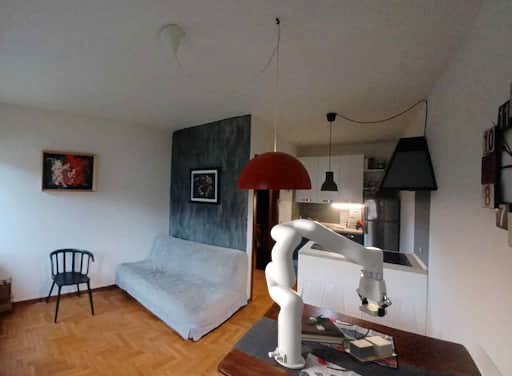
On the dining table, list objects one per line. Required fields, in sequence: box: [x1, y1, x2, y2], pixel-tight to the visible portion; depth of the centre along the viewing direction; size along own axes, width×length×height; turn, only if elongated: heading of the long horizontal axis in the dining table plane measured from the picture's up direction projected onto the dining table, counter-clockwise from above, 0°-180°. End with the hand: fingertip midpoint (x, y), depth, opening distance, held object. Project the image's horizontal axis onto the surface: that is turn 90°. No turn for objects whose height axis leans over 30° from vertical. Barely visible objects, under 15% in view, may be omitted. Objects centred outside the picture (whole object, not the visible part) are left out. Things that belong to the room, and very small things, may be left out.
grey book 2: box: [349, 346, 374, 358], centre depth 120 cm, size 8×5×2 cm, turn 104°
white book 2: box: [364, 335, 393, 351], centre depth 122 cm, size 8×7×2 cm
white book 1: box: [358, 303, 388, 318], centre depth 122 cm, size 8×7×2 cm
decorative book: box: [301, 314, 345, 346], centre depth 137 cm, size 19×8×30 cm
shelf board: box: [344, 348, 397, 363], centre depth 121 cm, size 20×9×2 cm, turn 104°
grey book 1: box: [349, 338, 374, 353], centre depth 120 cm, size 8×5×2 cm, turn 104°
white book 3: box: [374, 348, 394, 356], centre depth 122 cm, size 8×7×2 cm
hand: (372, 312), depth 122 cm, fingers closed on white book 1, 6 cm apart
